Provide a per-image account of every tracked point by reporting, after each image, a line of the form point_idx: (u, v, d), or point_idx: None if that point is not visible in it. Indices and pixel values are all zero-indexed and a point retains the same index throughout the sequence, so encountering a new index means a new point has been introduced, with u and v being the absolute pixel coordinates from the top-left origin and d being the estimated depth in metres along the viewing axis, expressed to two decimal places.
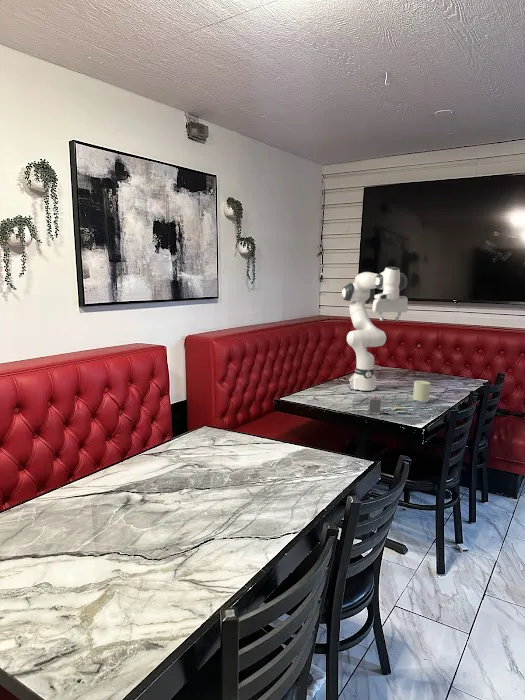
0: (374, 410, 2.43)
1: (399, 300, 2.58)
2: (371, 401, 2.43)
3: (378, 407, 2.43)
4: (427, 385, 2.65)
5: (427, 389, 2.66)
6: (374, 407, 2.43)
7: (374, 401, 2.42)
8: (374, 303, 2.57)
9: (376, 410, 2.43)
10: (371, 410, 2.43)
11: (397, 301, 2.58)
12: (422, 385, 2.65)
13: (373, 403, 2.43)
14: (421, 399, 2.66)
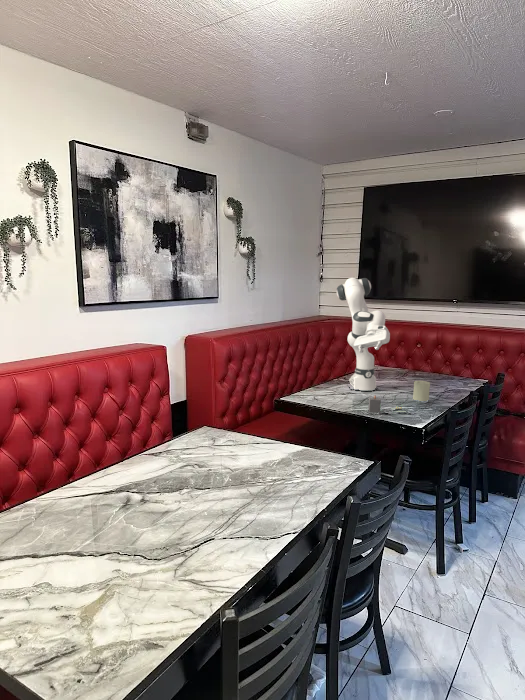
0: (374, 410, 2.43)
1: None
2: (371, 401, 2.43)
3: (378, 407, 2.43)
4: (427, 385, 2.65)
5: (427, 389, 2.66)
6: (374, 407, 2.43)
7: (374, 401, 2.42)
8: (388, 334, 2.47)
9: (376, 410, 2.43)
10: (371, 410, 2.43)
11: None
12: (422, 385, 2.65)
13: (373, 403, 2.43)
14: (421, 399, 2.66)
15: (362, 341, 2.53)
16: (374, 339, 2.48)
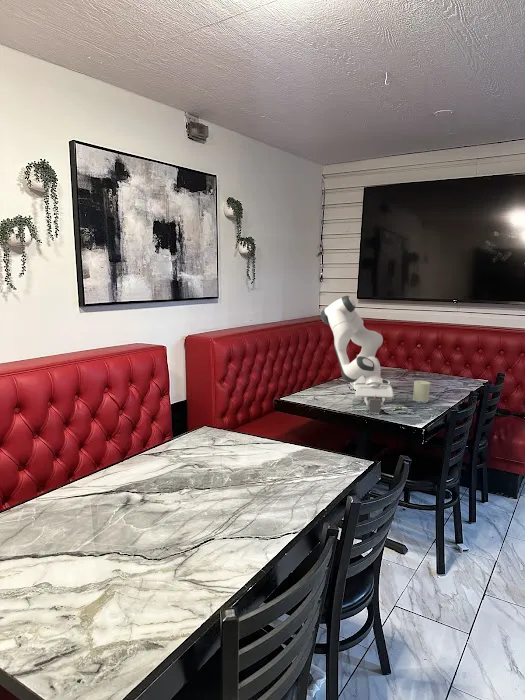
0: (374, 410, 2.43)
1: None
2: (371, 401, 2.43)
3: (378, 407, 2.43)
4: (427, 385, 2.65)
5: (427, 389, 2.66)
6: (374, 407, 2.43)
7: (374, 401, 2.42)
8: None
9: (376, 410, 2.43)
10: (371, 410, 2.43)
11: None
12: (422, 385, 2.65)
13: (373, 403, 2.43)
14: (421, 399, 2.66)
15: (366, 392, 2.47)
16: (380, 394, 2.46)
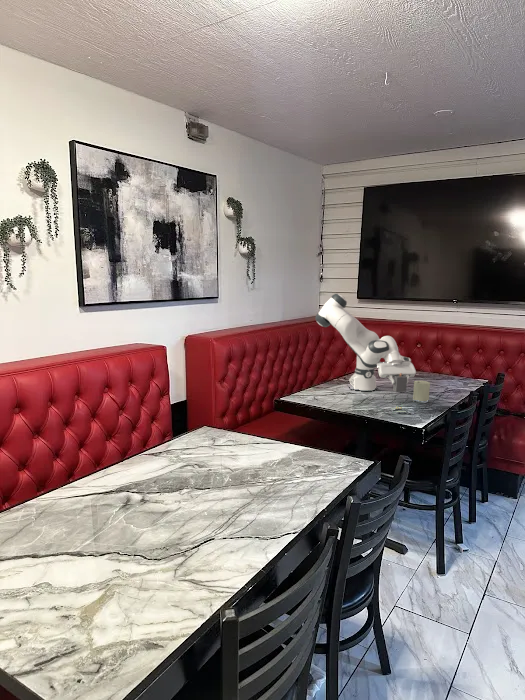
0: (401, 387, 2.44)
1: None
2: (398, 379, 2.43)
3: (404, 384, 2.44)
4: (427, 385, 2.65)
5: (427, 389, 2.66)
6: (401, 385, 2.44)
7: (401, 378, 2.43)
8: None
9: (403, 387, 2.44)
10: (398, 388, 2.44)
11: None
12: (422, 385, 2.65)
13: (400, 380, 2.43)
14: (421, 399, 2.66)
15: (390, 371, 2.47)
16: (404, 371, 2.47)
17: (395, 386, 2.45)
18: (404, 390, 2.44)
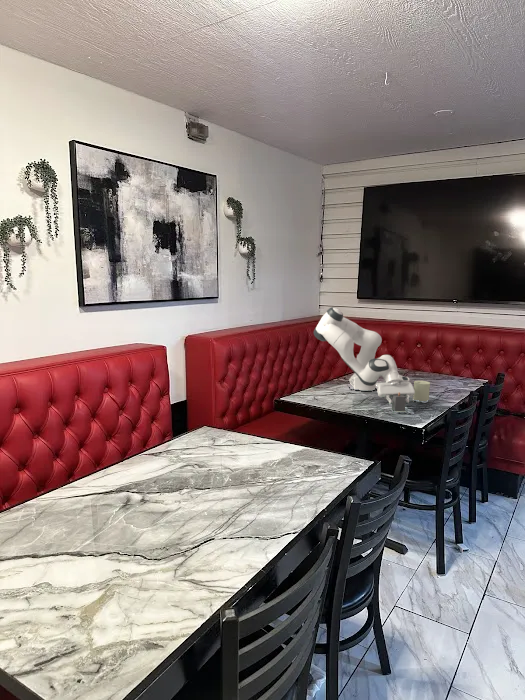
0: (399, 407, 2.46)
1: None
2: (397, 398, 2.44)
3: (403, 404, 2.46)
4: (427, 385, 2.65)
5: (427, 389, 2.66)
6: (399, 404, 2.45)
7: (399, 398, 2.45)
8: None
9: (401, 407, 2.46)
10: (396, 407, 2.45)
11: None
12: (422, 385, 2.65)
13: (398, 400, 2.45)
14: (421, 399, 2.66)
15: (389, 390, 2.48)
16: (402, 391, 2.49)
17: (394, 405, 2.46)
18: (403, 409, 2.46)
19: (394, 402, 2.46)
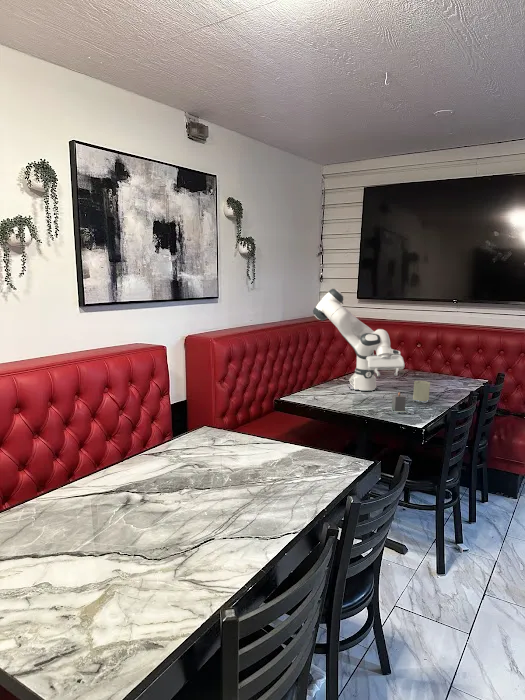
0: (399, 407, 2.46)
1: None
2: (397, 398, 2.44)
3: (403, 404, 2.46)
4: (427, 385, 2.65)
5: (427, 389, 2.66)
6: (399, 404, 2.45)
7: (399, 398, 2.45)
8: None
9: (401, 407, 2.46)
10: (396, 407, 2.45)
11: None
12: (422, 385, 2.65)
13: (398, 400, 2.45)
14: (421, 399, 2.66)
15: (378, 363, 2.58)
16: (392, 364, 2.57)
17: (394, 405, 2.46)
18: (403, 409, 2.46)
19: (394, 402, 2.46)
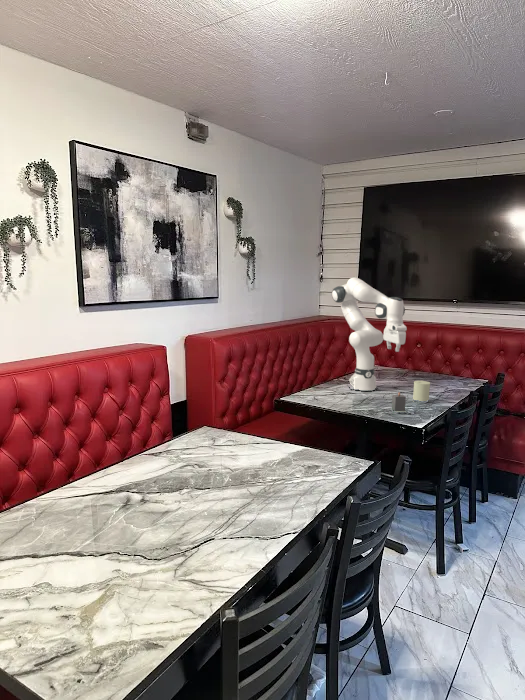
0: (399, 407, 2.46)
1: None
2: (397, 398, 2.44)
3: (403, 404, 2.46)
4: (427, 385, 2.65)
5: (427, 389, 2.66)
6: (399, 404, 2.45)
7: (399, 398, 2.45)
8: (402, 335, 2.51)
9: (401, 407, 2.46)
10: (396, 407, 2.45)
11: None
12: (422, 385, 2.65)
13: (398, 400, 2.45)
14: (421, 399, 2.66)
15: (387, 337, 2.64)
16: (393, 340, 2.57)
17: (394, 405, 2.46)
18: (403, 409, 2.46)
19: (394, 402, 2.46)
